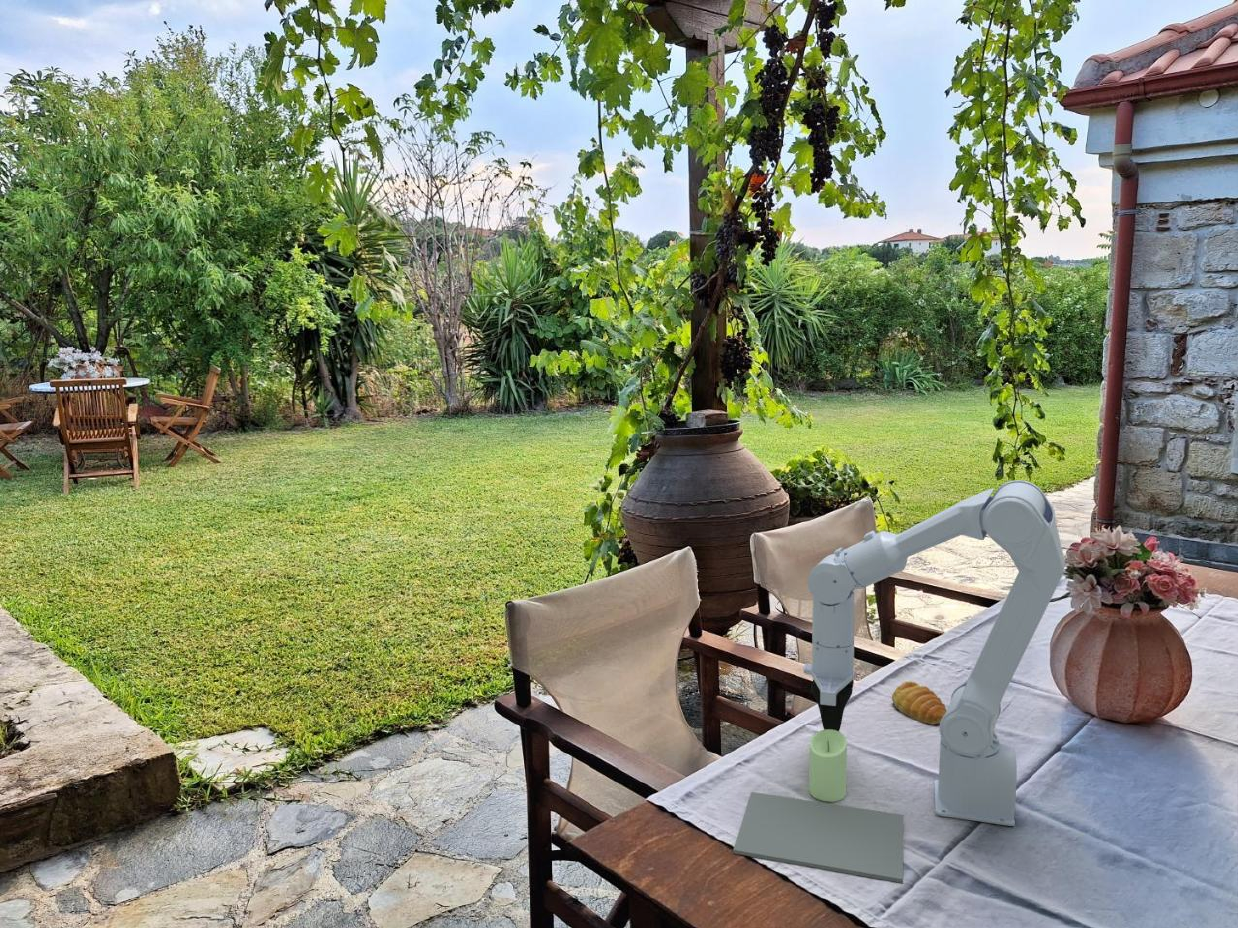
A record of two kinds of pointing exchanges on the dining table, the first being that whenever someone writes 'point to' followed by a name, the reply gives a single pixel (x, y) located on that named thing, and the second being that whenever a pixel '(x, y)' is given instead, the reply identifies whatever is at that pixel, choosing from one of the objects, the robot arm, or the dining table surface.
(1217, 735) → the dining table surface
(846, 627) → the robot arm
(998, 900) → the dining table surface
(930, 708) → the pastry
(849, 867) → the mat
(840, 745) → the candle
